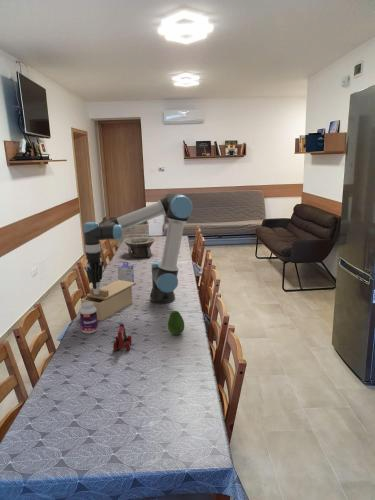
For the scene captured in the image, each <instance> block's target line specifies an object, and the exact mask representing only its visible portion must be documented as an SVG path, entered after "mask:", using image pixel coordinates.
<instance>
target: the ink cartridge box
mask: <svg viewBox="0 0 375 500" xmlns="http://www.w3.org/2000/svg"><path fill="white" fill-rule="evenodd" d="M134 275H135V274H134V264H129V261H122V264H120V265H118V266H117V277H118V279H117V280H122V281H128V282H134V283H135V276H134Z"/></svg>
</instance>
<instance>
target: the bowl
mask: <svg viewBox="0 0 375 500" xmlns="http://www.w3.org/2000/svg"><path fill="white" fill-rule="evenodd" d="M155 240H156V238H154V237H149V236H147V237H146V236H144V237H143V236H139V237H130V238H127V239H124V241H123V242H124V243H125V245H126V246H128V249H127V252H128V256H130V257H131V258H141V259H142V258H150V257H152V250H151V246H152V245H153V244H154V242H155Z"/></svg>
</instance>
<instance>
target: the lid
mask: <svg viewBox="0 0 375 500" xmlns="http://www.w3.org/2000/svg"><path fill="white" fill-rule="evenodd" d="M135 285H137V283H136V282H135V281H134V282H128V281H122V280H118V279H117V280H115V281H113V282H110V283H109V284H107V285H105V286H102V287H99V292H100V294H98V295H97V294H94V289H93V287H91V288H89V292H90V293H87V294H86V297H87V296H88V297H93V298H98V299H103V300H106V299H108V298H110V297H112V296H114V295H116V294H118V293H120V292H122V291H124V290H126V289H127V288H129V287H133V286H135Z"/></svg>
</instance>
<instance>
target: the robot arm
mask: <svg viewBox="0 0 375 500" xmlns="http://www.w3.org/2000/svg"><path fill="white" fill-rule="evenodd" d="M193 208H194V207H193V202H192V200H191V199H190V198H189V197H188V196H186V195H184V194H181V193H177V192H175V193H172V194H169V195H167V196H165V197H163V198H160V199H159V200H158V201H157V202H155V203H152V204H151V205H150V204H149V205H148V206H144V207H141V208H139V209H137V210H134V211H132V212H129V213H126V214H124V215H120V216H119V217H115V218H113V219H109V220H106V221H105V222H104V223H103V225H99V222H98V221H87V222H85V223H84V224H83V235H84V236H83V237H84V245H85V246H84V247H85V259H86V260H87V265H86V266H84V270H85V272H86V276H87V279H88V282H89V283H91V284H92V288H93V289H94V294H97V295H98V294H100V292H99V289H100V283H101V282H102V279H103V271H104V270H103V266H104V261H102V260H101V259H102V256H101V255H102V254H101V241H105V240H107V241H108V240H109V241H110V240H117V239H119V240H120V239H122V238H123V230H126V229H129V228H132V227H134V226H137V225H140V224H142V223H145V222H148V221H150V220H153V219H155V218H158V217H160V216H166V218H167V221H168V225H167V231H166V235H165V236H166V237H165V241H164V245H163V246H164V247H163V253H162V256H161V261H154V262H152V264H151V283H152V284H151V286H152V287H151V291H150V294H149V301H151V302H153V303H155V304H168V303H172V302H173V301H175V299H176V294H175V292H174V291H175V290H176V289H177V287H178V285H179V279H178V274H179V267H178V260H179V255H180V249H181V244H182V239H183V233H184V228H185V224H187V223H188V222H189V218H190V215H191V213H192V212H193Z"/></svg>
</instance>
